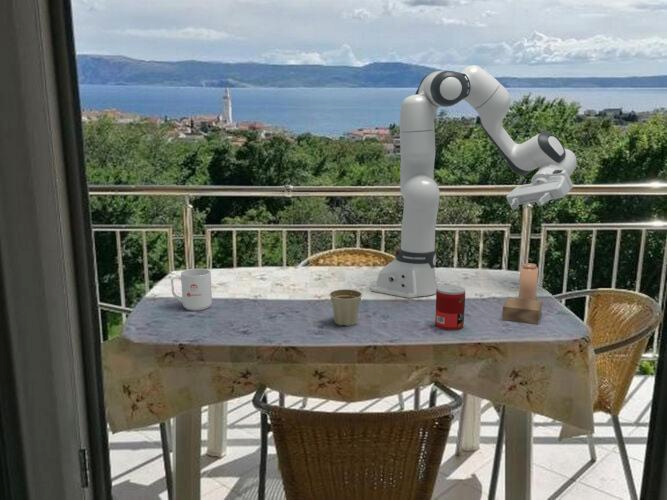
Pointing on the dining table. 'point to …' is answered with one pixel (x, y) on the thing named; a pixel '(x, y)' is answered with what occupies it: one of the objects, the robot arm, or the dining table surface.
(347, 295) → the flower pot
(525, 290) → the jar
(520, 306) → the pedestal
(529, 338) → the dining table surface
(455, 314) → the canned food
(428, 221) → the robot arm
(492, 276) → the dining table surface
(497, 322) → the dining table surface
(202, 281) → the mug
